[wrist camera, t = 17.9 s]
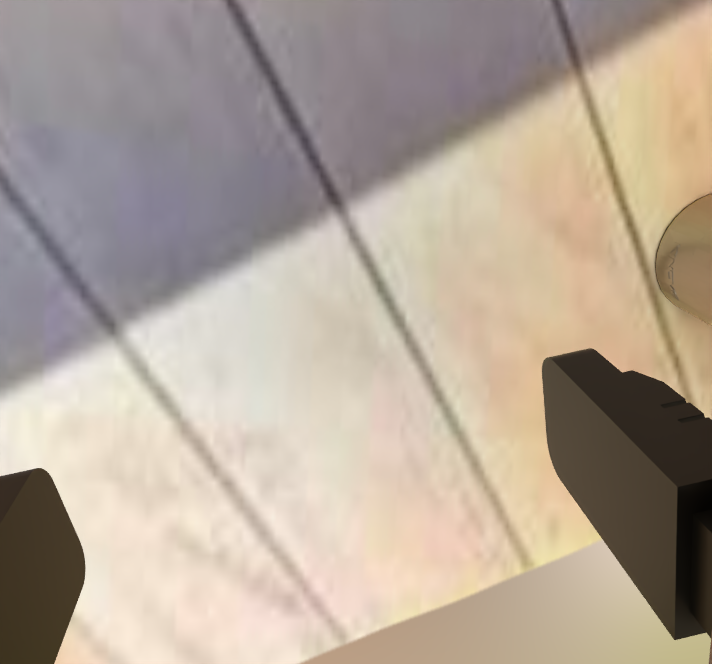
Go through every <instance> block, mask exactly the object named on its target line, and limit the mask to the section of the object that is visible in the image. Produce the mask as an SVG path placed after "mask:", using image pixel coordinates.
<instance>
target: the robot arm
mask: <svg viewBox="0 0 712 664" xmlns="http://www.w3.org/2000/svg"><path fill="white" fill-rule="evenodd" d="M656 273H657V280H658V283H659V285H660V288H661V290H662V292H663V293H664V294H665V296H666V297H667V299H669V300H670V301H671V302H672V303H673V304H674V305H676V306H678V307H679V308H681V309H683V310H685V311H686V312H688V313H690V314H692V315H694V316H695V317H697V318H699V319H701V320H702V321H704V322H706V323H707V324H709V325H711V326H712V194H710V195H708V196H705V197H703V198H701V199H698V200H697V201H695V202H694V203H692V204H691V205H689V206H688V207H686V208H685V209H684V210H683V211H682V212H681V213H680V214H679V215H678V216H677V217H676V218H675V219H674V221H673V222H672V223H671V225H670V226H669V227H668V229H667V230H666V232H665V234H664V236H663V238H662V240H661V243H660V246H659V249H658V252H657V259H656ZM542 379H543V393H544V406H545V419H546V433H547V444H548V449H549V454H550V457H551V460H552V463H553V466H554V469H555V471H556V473H557V475H558V477H559V478H560V480H561V481H562V483H563V484H564V486H565V487H566V488H567V490H568V491H569V493H570V494H571V495H572V497H573V498H574V500H575V501H576V502H577V504H578V505H579V507H580V508H581V510H582V511H583V512H584V514H585V515H586V517H587V518H588V519H589V521H590V522H591V524H592V525H593V526H594V528H595V529H596V531H597V532H598V533H599V535H600V536H601V538H602V539H603V540H604V542H605V543H606V545H607V546H608V547H609V549H610V550H611V552H612V553H613V554H614V555H615V557H616V559H617V560H618V561H619V563H620V564H621V566H622V567H623V568H624V570H625V571H626V573H627V574H628V575H629V577H630V578H631V580H632V581H633V582H634V584H635V585H636V587H637V588H638V590H639V591H640V592H641V594H642V595H643V597H644V598H645V599H646V600H647V602H648V603H649V605H650V606H651V608H652V609H653V611H654V612H655V613H656V615H657V616H658V618H659V619H660V620H661V622H662V623H663V625H664V626H665V627H666V629H667V630H668V632H669V633H670V634H671V636H672V637H673V639H674V640H677V639H681V638H685V637H689V636H694V635H698V634H702V633H706V632H707V634H708V635H709V636H710V638H711V647H710V658H709V664H712V420H711V419H710V418H709V417H708V418H705V417H704V413H702V412H701V411H700V410H698V409H697V408H696V407H695V406H693V405H692V404H691V403H686V401H685V399H684V398H683V397H682V396H681V395H679V394H678V393H677V392H675V391H674V390H673V389H672V388H670V387H669V386H668V385H667V384H665V383H664V382H662V381H659V380H656V379H654V378H651V377H648V376H646V375H643V374H640V373H638V372H635V371H627V372H623V373H622V372H621V371H619V370H618V369H617V368H616V367H615V366H614V365H612V364H611V363H610V362H609V361H608V360H606V359H605V358H604V357H603V356H602V355H601V354H599V353H598V352H597V351H596V350H594V349H585V350H581V351H576V352H572V353H567V354H562V355H558V356H553V357H549V358H546V359H545V360H544V362H543V366H542ZM84 579H85V558H84V553H83V549H82V546H81V543H80V541H79V538H78V536H77V534H76V532H75V529H74V527H73V525H72V522H71V520H70V518H69V516H68V513H67V511H66V509H65V507H64V504H63V502H62V500H61V497H60V495H59V493H58V491H57V488H56V486H55V484H54V482H53V480H52V478H51V476H50V475H49V473H48V472H47V471H45V470H44V469H42V468H36V469H32V470H27V471H23V472H18V473H14V474H9V475H5V476H0V664H54V662H55V660H56V657H57V654H58V652H59V649H60V646H61V644H62V641H63V638H64V636H65V633H66V630H67V628H68V625H69V622H70V620H71V617H72V614H73V612H74V609H75V606H76V604H77V601H78V598H79V596H80V593H81V590H82V588H83V584H84Z"/></svg>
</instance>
